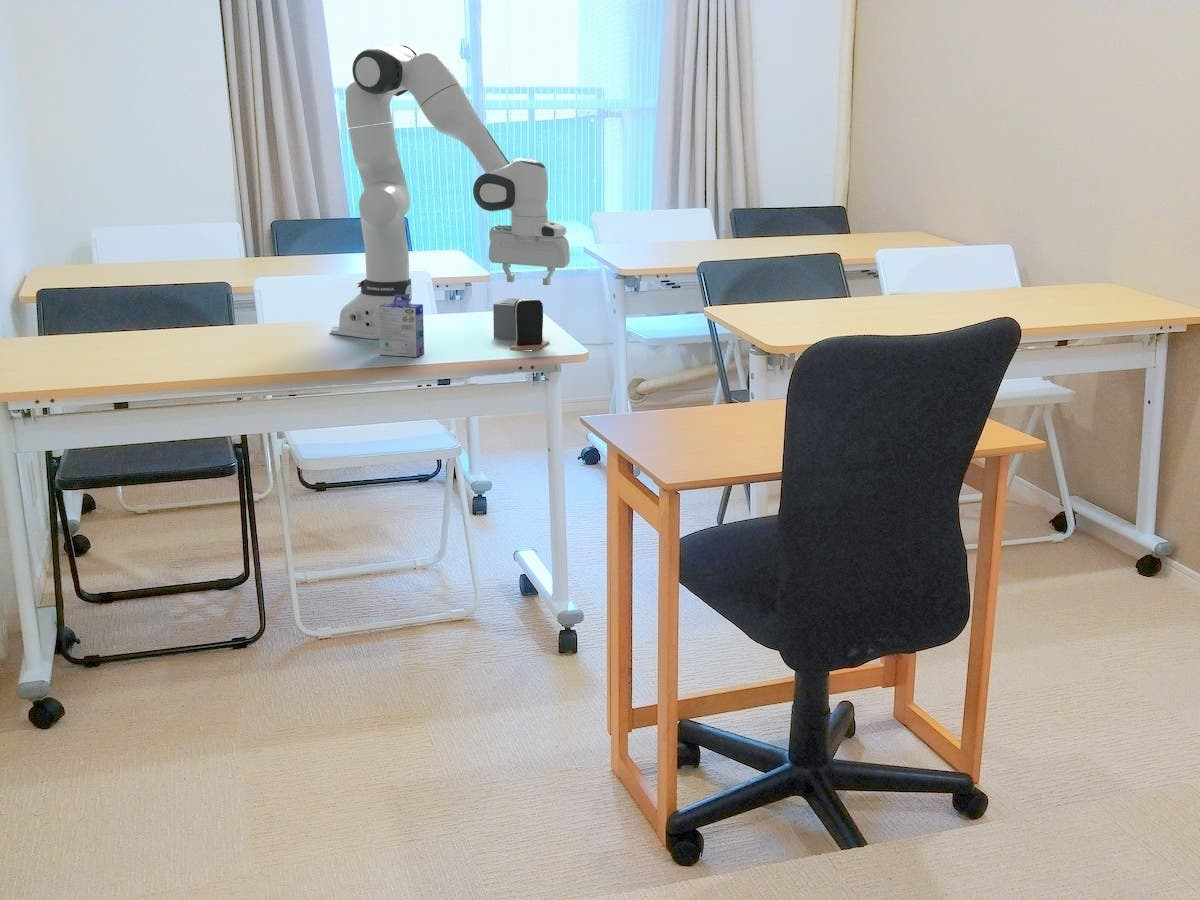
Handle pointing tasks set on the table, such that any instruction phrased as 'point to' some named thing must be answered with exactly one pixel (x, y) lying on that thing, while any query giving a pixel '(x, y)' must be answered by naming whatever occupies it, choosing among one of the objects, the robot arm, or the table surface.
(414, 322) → the ink cartridge box
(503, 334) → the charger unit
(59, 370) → the table surface
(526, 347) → the mat
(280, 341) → the table surface
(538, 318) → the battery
